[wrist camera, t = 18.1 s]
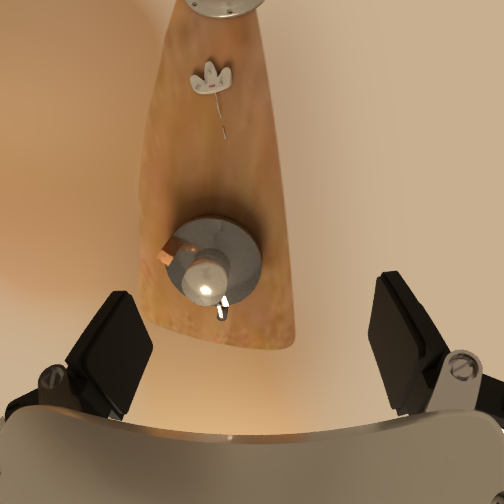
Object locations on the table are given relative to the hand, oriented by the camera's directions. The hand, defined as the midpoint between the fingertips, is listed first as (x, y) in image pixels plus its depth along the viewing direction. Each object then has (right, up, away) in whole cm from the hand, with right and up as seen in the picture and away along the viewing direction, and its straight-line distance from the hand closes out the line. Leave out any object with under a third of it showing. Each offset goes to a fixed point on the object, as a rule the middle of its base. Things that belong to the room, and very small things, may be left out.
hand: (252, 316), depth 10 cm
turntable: (-6, +1, +34) cm, 34 cm away
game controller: (-5, +24, +25) cm, 35 cm away
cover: (-6, 0, +32) cm, 33 cm away
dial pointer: (-5, -6, +39) cm, 39 cm away
